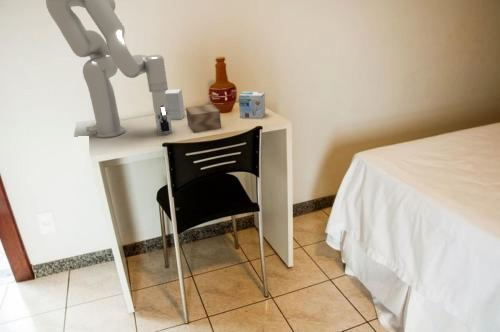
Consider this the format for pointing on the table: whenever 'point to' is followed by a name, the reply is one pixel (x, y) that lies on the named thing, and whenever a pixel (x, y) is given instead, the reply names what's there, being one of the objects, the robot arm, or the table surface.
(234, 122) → the table surface
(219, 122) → the walnut block
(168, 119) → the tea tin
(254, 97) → the light bulb box
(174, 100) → the supplement box
